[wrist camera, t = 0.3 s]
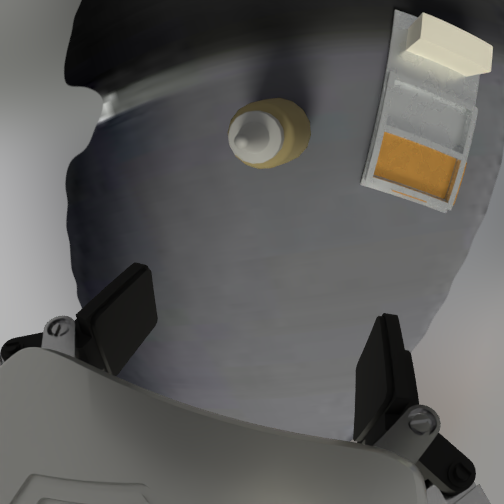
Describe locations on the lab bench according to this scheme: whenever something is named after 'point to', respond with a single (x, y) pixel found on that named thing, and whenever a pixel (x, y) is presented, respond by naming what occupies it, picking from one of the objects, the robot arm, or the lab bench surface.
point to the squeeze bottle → (269, 133)
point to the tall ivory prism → (449, 46)
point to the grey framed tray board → (420, 126)
